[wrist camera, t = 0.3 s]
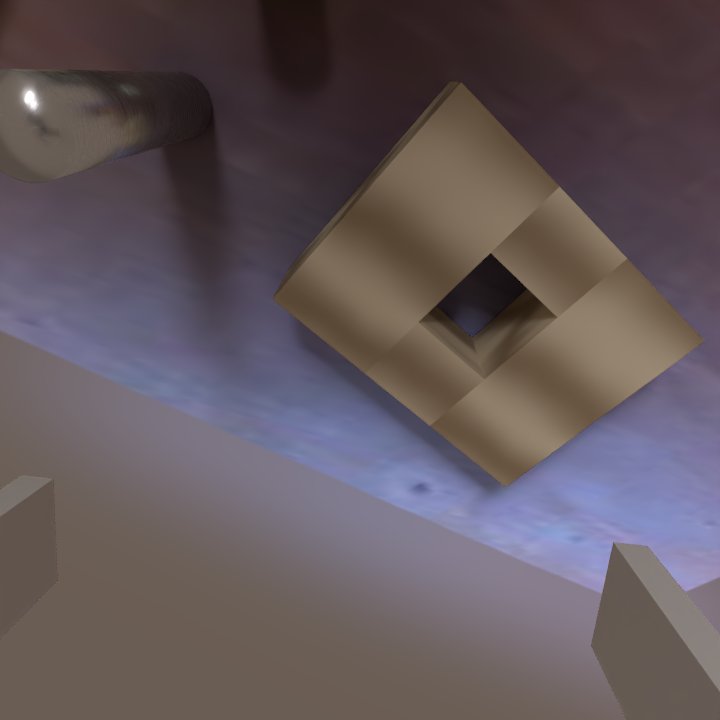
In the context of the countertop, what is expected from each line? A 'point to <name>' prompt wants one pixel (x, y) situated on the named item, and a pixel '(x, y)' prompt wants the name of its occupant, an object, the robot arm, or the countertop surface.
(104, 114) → the long steel pin
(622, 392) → the hole block
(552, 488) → the countertop surface
